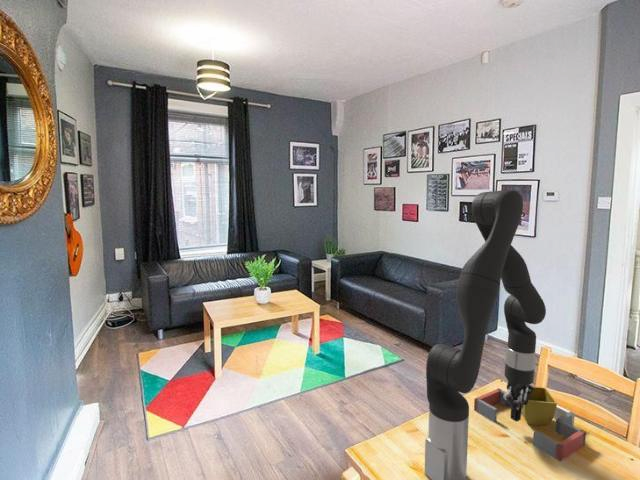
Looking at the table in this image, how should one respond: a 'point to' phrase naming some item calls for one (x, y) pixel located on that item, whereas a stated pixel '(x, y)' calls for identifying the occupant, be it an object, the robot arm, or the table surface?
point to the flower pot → (539, 407)
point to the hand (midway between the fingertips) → (515, 419)
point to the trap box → (544, 443)
